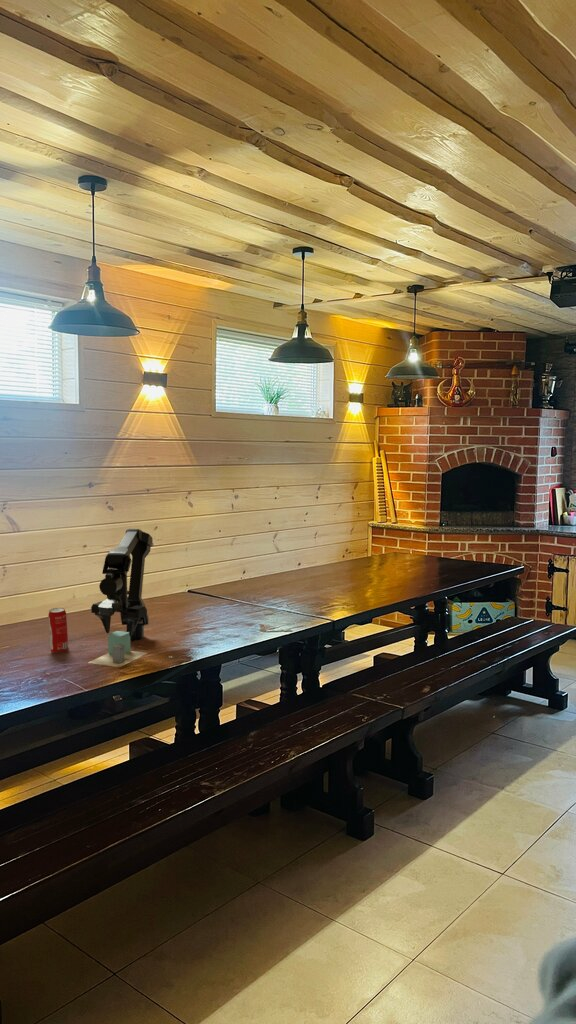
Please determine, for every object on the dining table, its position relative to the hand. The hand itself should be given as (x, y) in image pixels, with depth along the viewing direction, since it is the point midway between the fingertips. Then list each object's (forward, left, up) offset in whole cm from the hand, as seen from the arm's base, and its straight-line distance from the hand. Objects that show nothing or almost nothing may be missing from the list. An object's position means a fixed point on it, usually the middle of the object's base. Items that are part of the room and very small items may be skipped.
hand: (119, 634), depth 239 cm
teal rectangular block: (0, 0, -6) cm, 6 cm away
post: (+9, +6, -6) cm, 13 cm away
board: (+5, +3, -7) cm, 9 cm away
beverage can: (+5, -21, -7) cm, 23 cm away
